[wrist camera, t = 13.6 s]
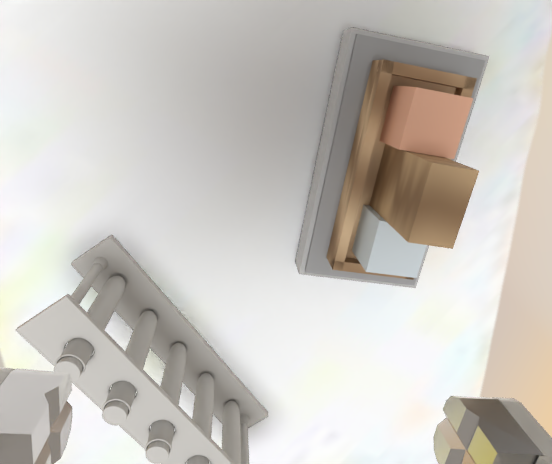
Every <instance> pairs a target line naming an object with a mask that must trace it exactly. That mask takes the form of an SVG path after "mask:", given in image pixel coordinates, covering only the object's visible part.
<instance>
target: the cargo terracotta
mask: <svg viewBox="0 0 552 464" xmlns="http://www.w3.org/2000/svg"><path fill="white" fill-rule="evenodd" d="M472 101H473V98H469V97H464V96H459V95H454V94H449V93H444V92H439V91H434V90H428V89H423V88H418V87H408V86H393V90H392V94H391V98H390V102H389V106H388V110H387V114H386V118H385V122H384V126H383V129H382V133H381V137H380V141H381V142H383V143H385V144H388V145H390V146H392V147H394V148H396V149H399V150H404V151H410V152H416V153H421V154H427V155H433V156H439V157H445V158H451V159H454V158H455V155H456V152H457V149H458V146H459V142H460V139H461V136H462V133H463V130H464V127H465V123H466V120H467V117H468V114H469V111H470V108H471V105H472Z"/></svg>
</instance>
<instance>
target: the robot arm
mask: <svg viewBox="0 0 552 464" xmlns="http://www.w3.org/2000/svg"><path fill="white" fill-rule="evenodd" d="M71 391H72V380H71V375H70V374H69V373H64V372H51V371H39V370H27V369H10V368H0V464H54V463H55V462H56V461H58V460H59V459H60V458H61V457H62V454H63V452H64V450H65V447H66V445H67V441H68V438H69V434H70V430H71V423H72V406H71V405H70V404H69V403H68V402H67V399H68V397H69V395H70V393H71ZM443 411H444V413H445V416H446V418H445V419H444V420H443V421H442V422H441V423H439V424H438V425H437V428H436V431H435V434H434V451H435V455H436V459H437V461H438V463H439V464H552V438H551V437H550V435H549V434H548V433H547V432H546V431H545V430H544V429H543V427H542V426H541V425H540V424H539V423H538V422H537V420H536V419H535V418H534V417H533V416H532V415H531V414H530V412H529V411H528V410H527V409H526V408H525V407H524V406H523V404H522V403H521V402H519V401H517V400H515V399H514V398H482V397H463V396H451V397H450V398H449V399H448V400H447V401H446V403H445V406H444V408H443Z"/></svg>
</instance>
